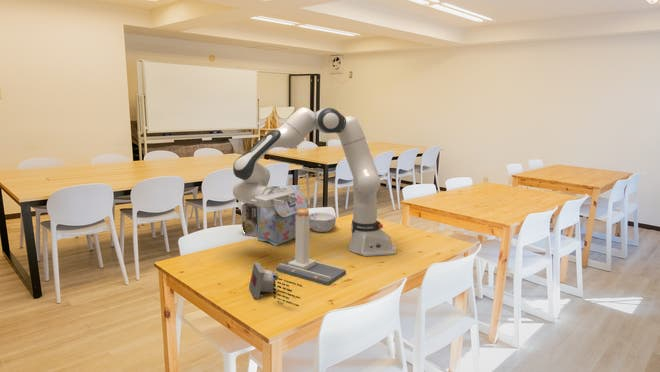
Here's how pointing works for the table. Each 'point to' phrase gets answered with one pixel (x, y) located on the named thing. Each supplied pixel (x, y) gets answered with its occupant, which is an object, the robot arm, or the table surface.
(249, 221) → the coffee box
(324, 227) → the paper bowls
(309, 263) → the slider handle
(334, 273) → the slider track
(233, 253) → the table surface
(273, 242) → the lunch bag
